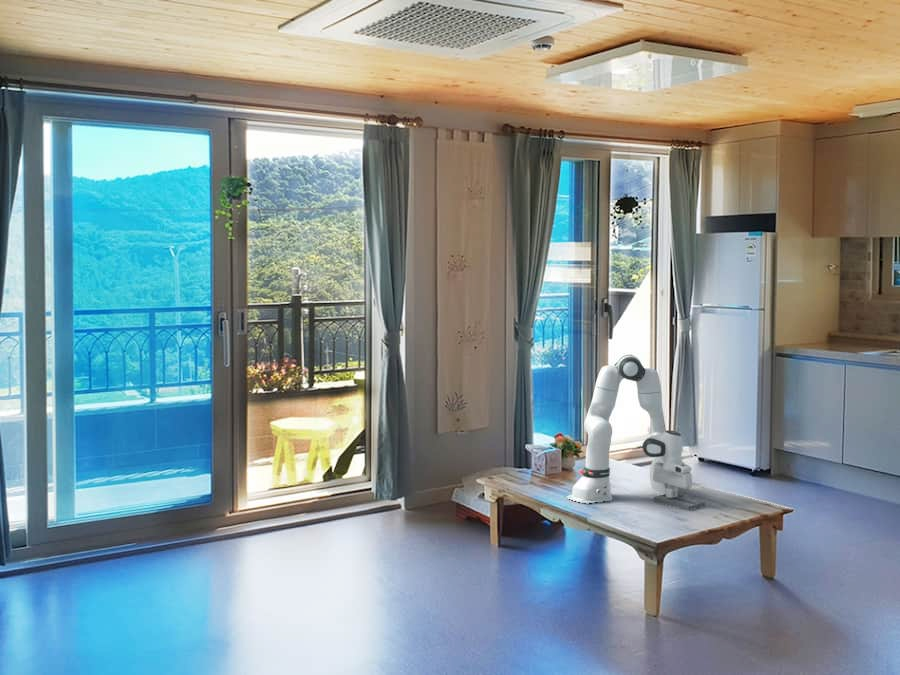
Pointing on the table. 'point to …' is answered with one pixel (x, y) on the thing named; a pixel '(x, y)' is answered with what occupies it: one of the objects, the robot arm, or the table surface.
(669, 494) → the fader knob
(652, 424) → the robot arm
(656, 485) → the alarm clock
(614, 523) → the table surface
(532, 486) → the table surface
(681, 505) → the fader deck
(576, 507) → the table surface
